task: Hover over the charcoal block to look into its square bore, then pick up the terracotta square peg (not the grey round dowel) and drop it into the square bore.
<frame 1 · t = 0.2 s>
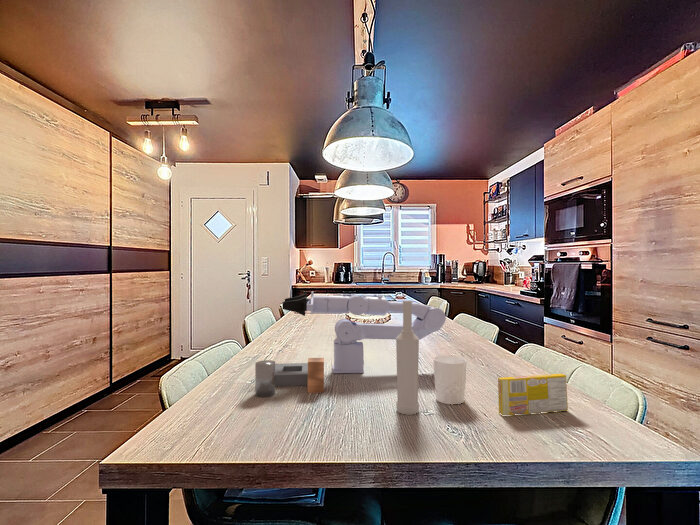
hand: (283, 303, 115), 21 cm above the table, tool horizontal, fingers open, 7 cm apart
square peg: (315, 389, 98), on the table
bottle: (407, 411, 83), on the table
bore block: (292, 379, 107), on the table
round dowel: (265, 393, 95), on the table
candy box: (533, 413, 82), on the table
white cup: (449, 400, 90), on the table
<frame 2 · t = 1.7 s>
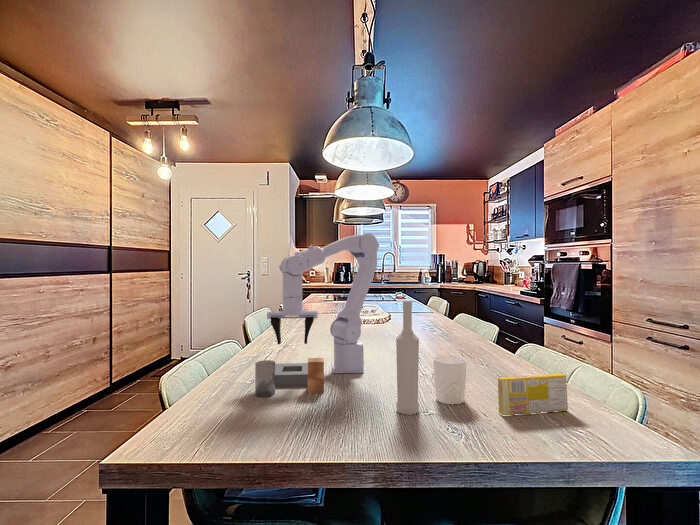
hand: (292, 343, 107), 10 cm above the table, tool pointing down, fingers open, 7 cm apart
nothing on the table moved.
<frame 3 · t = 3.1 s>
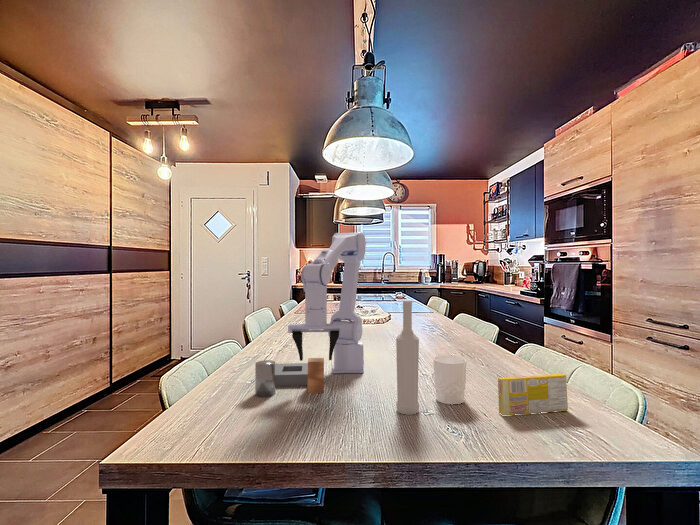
hand: (315, 359, 98), 8 cm above the table, tool pointing down, fingers open, 7 cm apart
nothing on the table moved.
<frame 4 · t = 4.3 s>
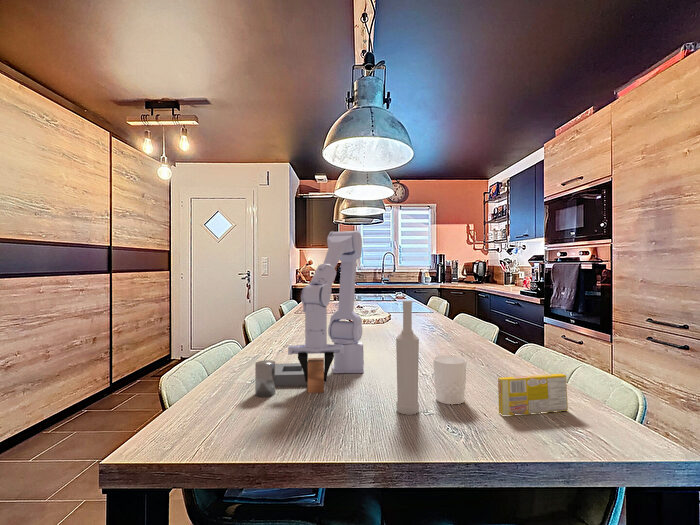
hand: (315, 380, 98), 2 cm above the table, tool pointing down, fingers closed on square peg, 4 cm apart
square peg: (315, 389, 98), on the table, touching gripper
everything else where it was.
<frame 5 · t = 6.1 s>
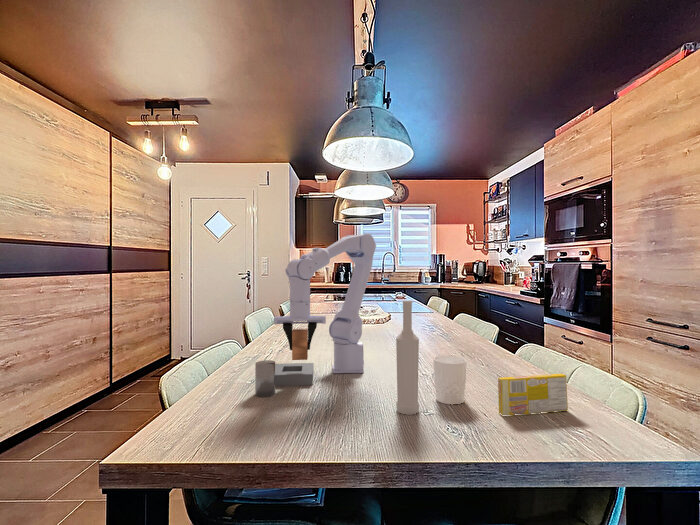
hand: (300, 349, 104), 9 cm above the table, tool pointing down, fingers closed on square peg, 4 cm apart
square peg: (300, 358, 104), point 7 cm above the table, touching gripper
everything else where it was.
when the fingers open (4 cm above the table, at t = 8.2 s): square peg drops 1 cm, resting in bore block.
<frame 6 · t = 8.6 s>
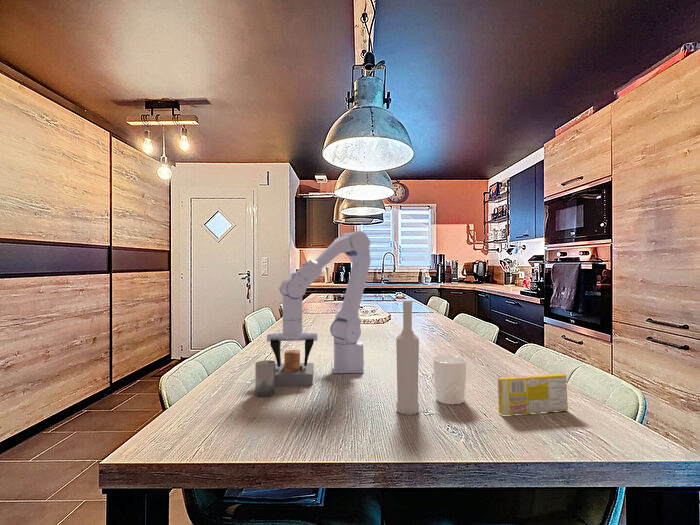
hand: (292, 365, 107), 4 cm above the table, tool pointing down, fingers open, 7 cm apart
square peg: (292, 379, 107), resting in bore block
everything else where it was.
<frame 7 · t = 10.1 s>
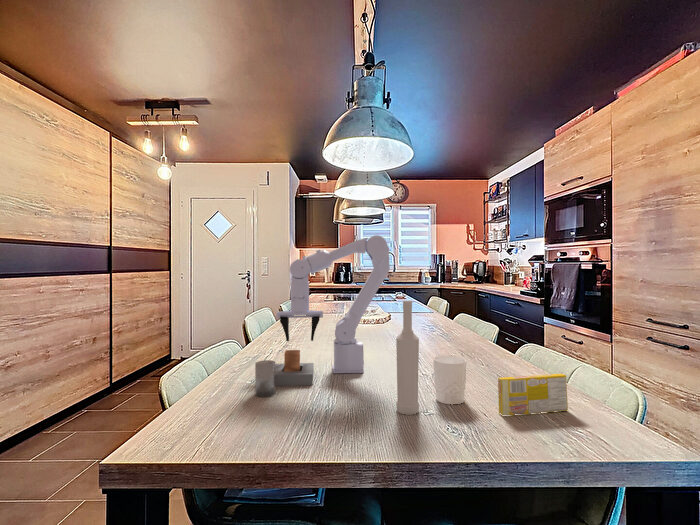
hand: (300, 340, 116), 9 cm above the table, tool pointing down, fingers open, 7 cm apart
nothing on the table moved.
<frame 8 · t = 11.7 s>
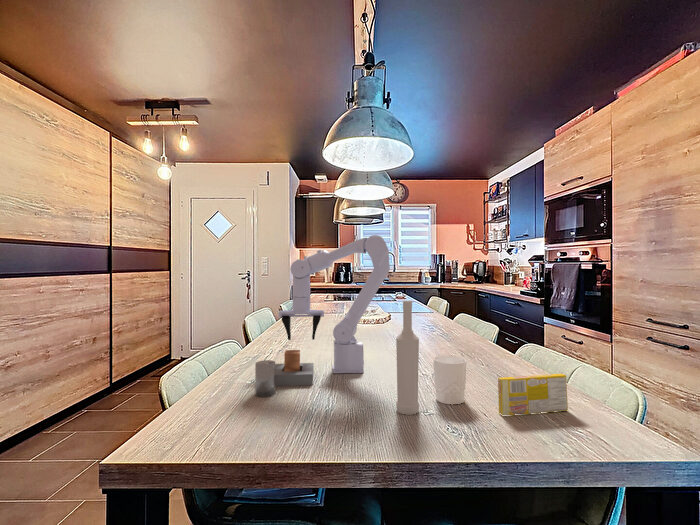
hand: (301, 339, 118), 9 cm above the table, tool pointing down, fingers open, 7 cm apart
nothing on the table moved.
at the end: square peg 0.1 cm from the bore block (horizontally); square peg resting in bore block; square peg tilted 0° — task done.
